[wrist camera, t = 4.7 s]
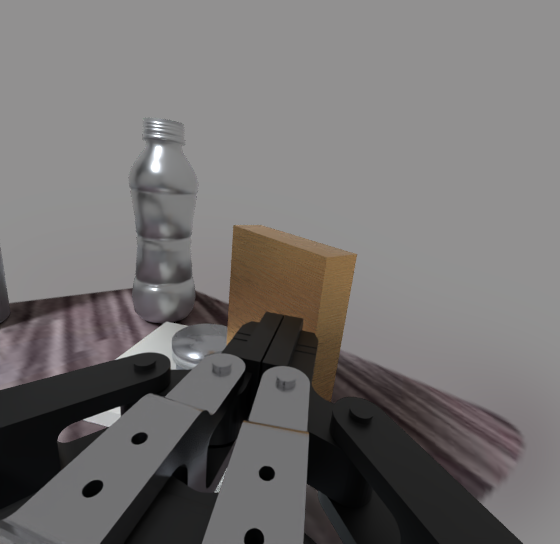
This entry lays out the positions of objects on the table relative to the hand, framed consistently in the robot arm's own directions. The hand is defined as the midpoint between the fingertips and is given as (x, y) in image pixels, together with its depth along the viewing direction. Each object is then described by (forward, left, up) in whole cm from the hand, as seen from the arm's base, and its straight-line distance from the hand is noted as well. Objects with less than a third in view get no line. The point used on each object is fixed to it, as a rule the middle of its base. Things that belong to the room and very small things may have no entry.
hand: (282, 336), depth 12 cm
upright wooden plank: (-4, +6, -7) cm, 10 cm away
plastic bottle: (-16, +18, -10) cm, 26 cm away
